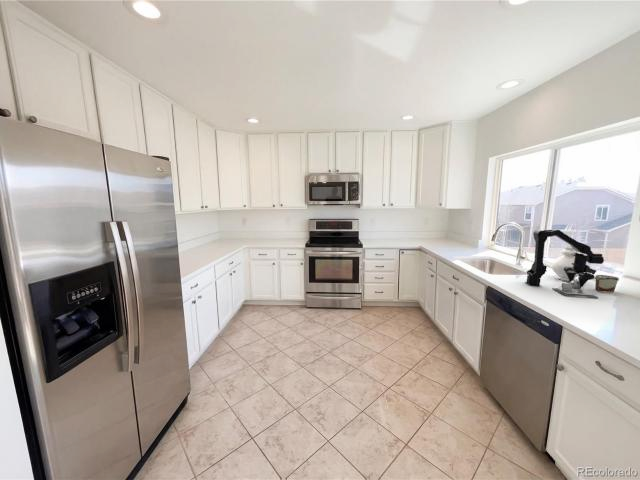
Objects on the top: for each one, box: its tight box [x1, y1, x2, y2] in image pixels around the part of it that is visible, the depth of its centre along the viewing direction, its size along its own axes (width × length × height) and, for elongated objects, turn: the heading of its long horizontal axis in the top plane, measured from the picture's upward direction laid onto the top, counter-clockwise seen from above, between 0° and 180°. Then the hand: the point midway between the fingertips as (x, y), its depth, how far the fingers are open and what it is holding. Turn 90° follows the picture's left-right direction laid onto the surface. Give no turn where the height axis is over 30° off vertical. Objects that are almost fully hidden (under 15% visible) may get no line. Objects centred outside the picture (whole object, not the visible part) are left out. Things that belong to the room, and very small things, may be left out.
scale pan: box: [555, 287, 596, 296], centre depth 158 cm, size 15×9×1 cm, turn 75°
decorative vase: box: [551, 245, 580, 282], centre depth 185 cm, size 18×18×25 cm
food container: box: [593, 274, 620, 293], centre depth 163 cm, size 12×6×10 cm, turn 84°
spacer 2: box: [570, 280, 582, 290], centre depth 167 cm, size 5×5×5 cm
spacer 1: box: [560, 281, 573, 292], centre depth 158 cm, size 5×5×5 cm
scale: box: [551, 287, 599, 300], centre depth 158 cm, size 17×12×1 cm
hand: (576, 284), depth 167 cm, fingers open, 9 cm apart
